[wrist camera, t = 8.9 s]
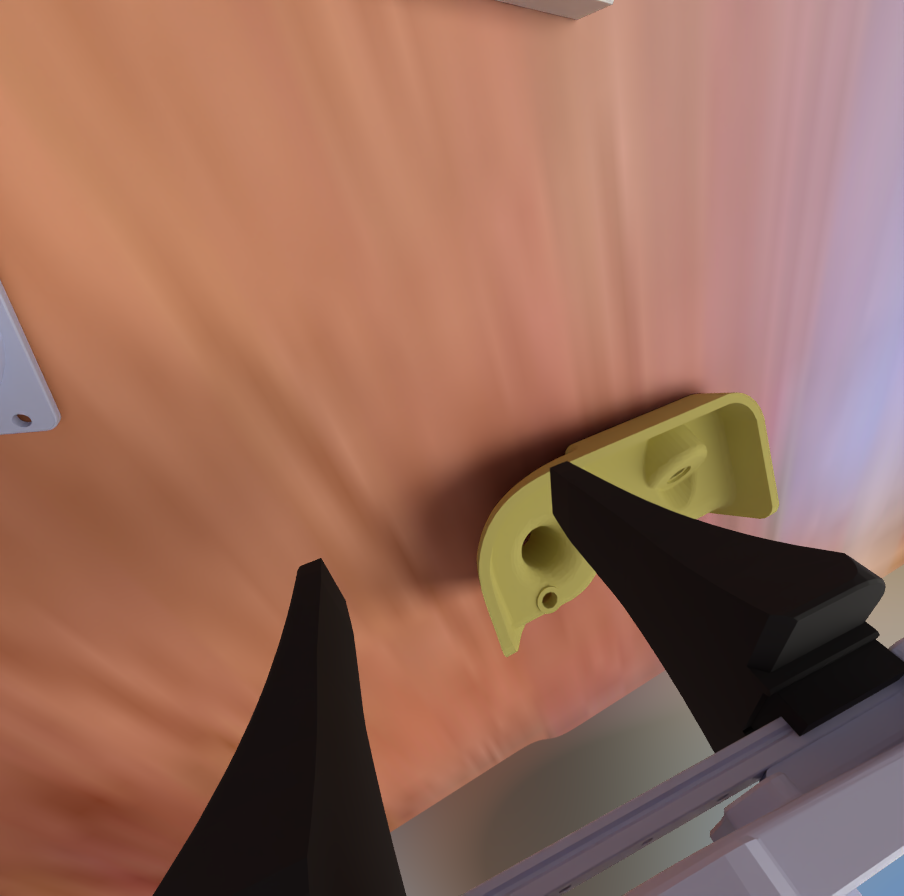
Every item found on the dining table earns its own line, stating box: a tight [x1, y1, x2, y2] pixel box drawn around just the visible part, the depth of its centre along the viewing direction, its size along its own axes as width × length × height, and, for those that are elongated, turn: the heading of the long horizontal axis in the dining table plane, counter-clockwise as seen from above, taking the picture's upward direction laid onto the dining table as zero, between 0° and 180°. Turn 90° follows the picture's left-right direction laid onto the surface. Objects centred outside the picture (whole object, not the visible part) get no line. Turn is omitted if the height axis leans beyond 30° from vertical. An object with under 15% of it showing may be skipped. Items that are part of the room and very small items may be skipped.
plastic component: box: [477, 393, 779, 657], centre depth 28 cm, size 20×7×10 cm
